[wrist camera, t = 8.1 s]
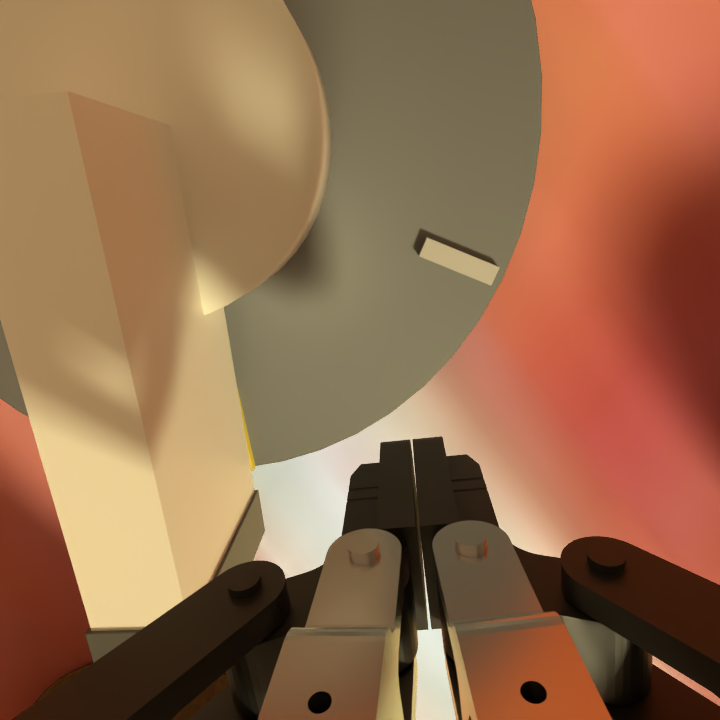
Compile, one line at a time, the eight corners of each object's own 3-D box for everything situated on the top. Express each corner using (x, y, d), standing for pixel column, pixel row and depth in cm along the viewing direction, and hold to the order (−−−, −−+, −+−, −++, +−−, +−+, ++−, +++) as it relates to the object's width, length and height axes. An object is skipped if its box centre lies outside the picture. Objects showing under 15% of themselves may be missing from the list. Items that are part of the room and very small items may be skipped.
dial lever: (-46, -35, 14) (-403, -226, 8) (311, -86, 14) (235, -347, 7) (103, 527, 20) (-40, 689, 13) (369, 515, 19) (357, 683, 12)
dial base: (-104, -451, 13) (-177, -547, 12) (668, -97, 15) (704, -137, 13) (-166, 325, 20) (-219, 336, 18) (372, 528, 21) (370, 557, 19)
